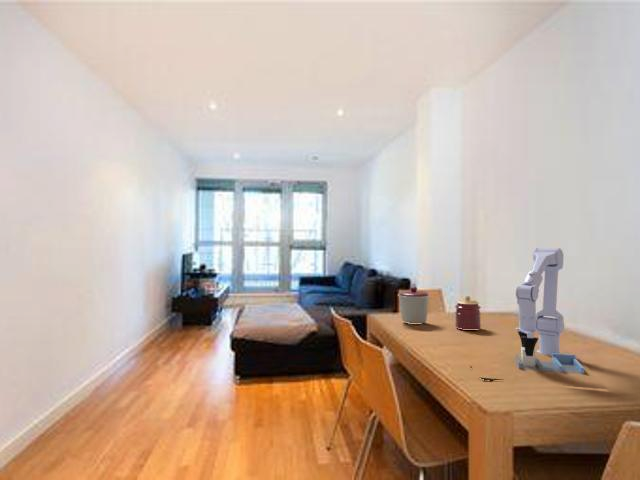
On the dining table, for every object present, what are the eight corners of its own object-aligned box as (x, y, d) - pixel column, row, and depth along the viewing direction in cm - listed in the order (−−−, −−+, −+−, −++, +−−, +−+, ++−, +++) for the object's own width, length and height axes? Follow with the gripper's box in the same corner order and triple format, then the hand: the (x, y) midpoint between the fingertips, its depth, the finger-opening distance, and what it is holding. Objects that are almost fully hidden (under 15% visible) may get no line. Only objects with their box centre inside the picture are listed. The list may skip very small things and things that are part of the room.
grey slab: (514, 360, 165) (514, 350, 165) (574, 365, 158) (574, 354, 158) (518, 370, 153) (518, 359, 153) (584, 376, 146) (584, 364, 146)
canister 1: (392, 322, 244) (391, 286, 244) (417, 319, 251) (416, 284, 251) (411, 328, 227) (410, 289, 227) (437, 324, 235) (436, 287, 235)
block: (521, 362, 160) (521, 347, 160) (532, 363, 158) (532, 347, 158) (522, 365, 156) (522, 349, 156) (534, 366, 155) (534, 350, 155)
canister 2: (484, 331, 217) (484, 297, 217) (459, 331, 217) (459, 297, 217) (475, 326, 230) (475, 294, 230) (452, 326, 230) (451, 294, 230)
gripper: (513, 313, 165) (513, 347, 165) (518, 320, 151) (518, 357, 151) (533, 314, 163) (533, 348, 163) (539, 321, 149) (540, 359, 149)
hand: (527, 353), depth 157 cm, fingers open, 7 cm apart
